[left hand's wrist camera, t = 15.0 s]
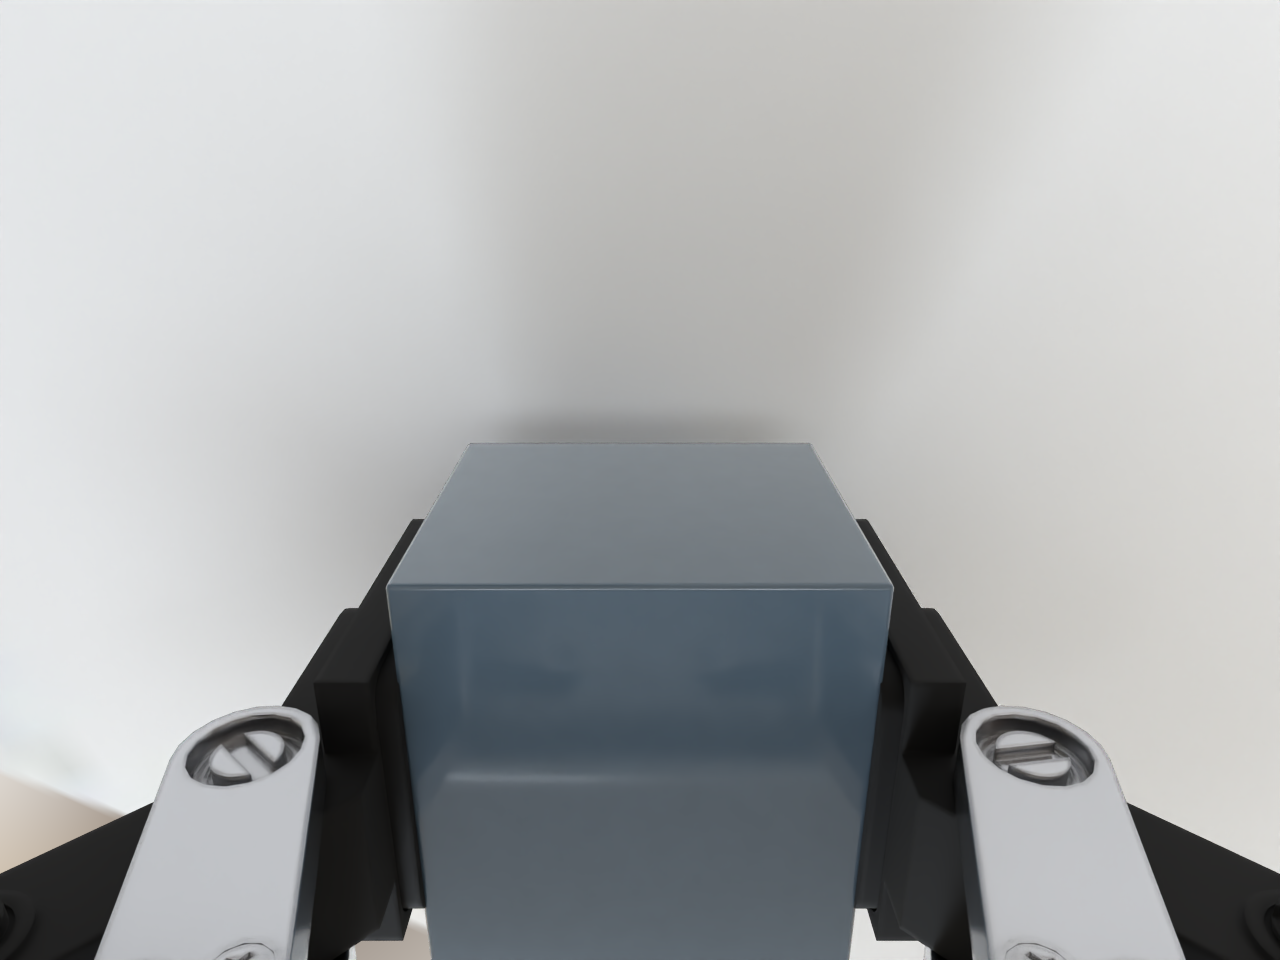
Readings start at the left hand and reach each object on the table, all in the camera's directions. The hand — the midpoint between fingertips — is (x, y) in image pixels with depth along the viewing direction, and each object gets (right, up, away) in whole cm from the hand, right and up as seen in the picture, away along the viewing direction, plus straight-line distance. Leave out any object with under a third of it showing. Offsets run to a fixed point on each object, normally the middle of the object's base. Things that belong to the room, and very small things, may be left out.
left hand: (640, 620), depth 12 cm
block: (0, 0, 0) cm, 0 cm away
